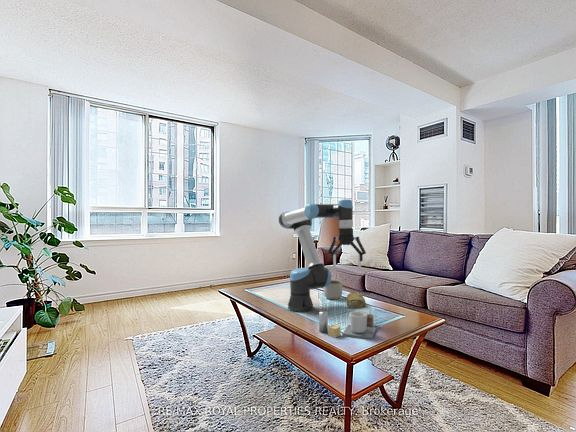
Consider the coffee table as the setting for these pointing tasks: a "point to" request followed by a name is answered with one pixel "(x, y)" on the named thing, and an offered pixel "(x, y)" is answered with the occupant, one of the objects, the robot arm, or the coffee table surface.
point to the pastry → (355, 300)
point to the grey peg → (323, 322)
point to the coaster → (366, 335)
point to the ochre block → (334, 331)
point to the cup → (358, 321)
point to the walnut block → (370, 320)
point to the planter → (333, 290)
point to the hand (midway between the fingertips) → (346, 267)
